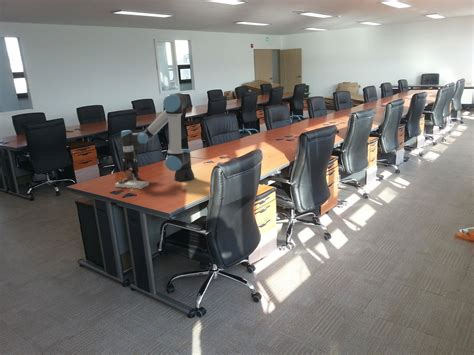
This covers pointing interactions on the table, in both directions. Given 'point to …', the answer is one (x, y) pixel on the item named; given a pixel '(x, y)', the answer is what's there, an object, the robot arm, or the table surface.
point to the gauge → (127, 176)
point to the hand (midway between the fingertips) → (131, 181)
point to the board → (132, 184)
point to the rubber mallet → (135, 146)
